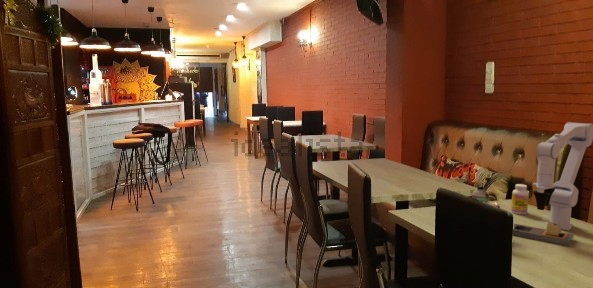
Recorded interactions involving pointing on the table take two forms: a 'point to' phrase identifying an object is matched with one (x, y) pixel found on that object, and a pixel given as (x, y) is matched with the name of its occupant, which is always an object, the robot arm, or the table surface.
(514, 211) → the supplement bottle
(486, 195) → the spray can
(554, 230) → the tan square knob peg
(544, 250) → the table surface
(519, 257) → the table surface
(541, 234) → the grey slotted board
